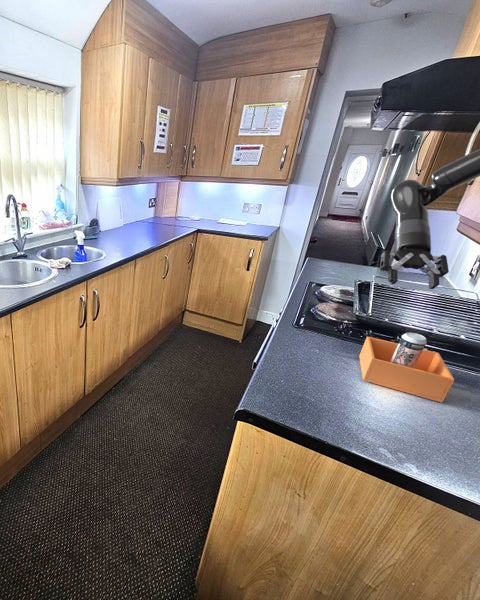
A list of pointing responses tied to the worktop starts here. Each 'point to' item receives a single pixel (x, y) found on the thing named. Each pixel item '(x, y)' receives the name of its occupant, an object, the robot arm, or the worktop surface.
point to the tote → (405, 371)
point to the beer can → (409, 349)
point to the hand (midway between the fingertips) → (413, 285)
